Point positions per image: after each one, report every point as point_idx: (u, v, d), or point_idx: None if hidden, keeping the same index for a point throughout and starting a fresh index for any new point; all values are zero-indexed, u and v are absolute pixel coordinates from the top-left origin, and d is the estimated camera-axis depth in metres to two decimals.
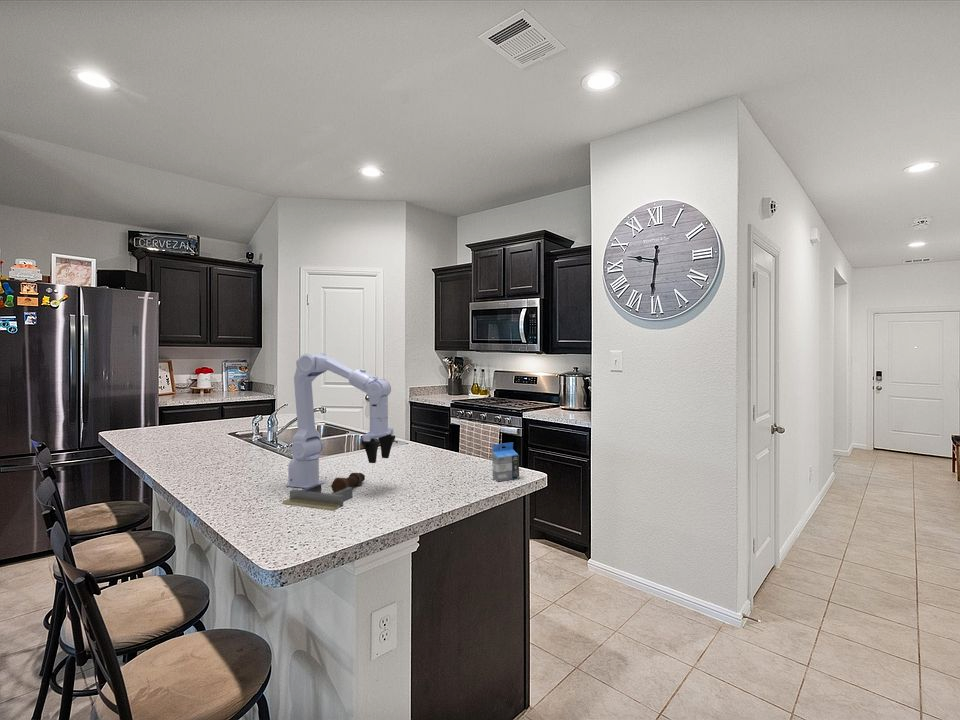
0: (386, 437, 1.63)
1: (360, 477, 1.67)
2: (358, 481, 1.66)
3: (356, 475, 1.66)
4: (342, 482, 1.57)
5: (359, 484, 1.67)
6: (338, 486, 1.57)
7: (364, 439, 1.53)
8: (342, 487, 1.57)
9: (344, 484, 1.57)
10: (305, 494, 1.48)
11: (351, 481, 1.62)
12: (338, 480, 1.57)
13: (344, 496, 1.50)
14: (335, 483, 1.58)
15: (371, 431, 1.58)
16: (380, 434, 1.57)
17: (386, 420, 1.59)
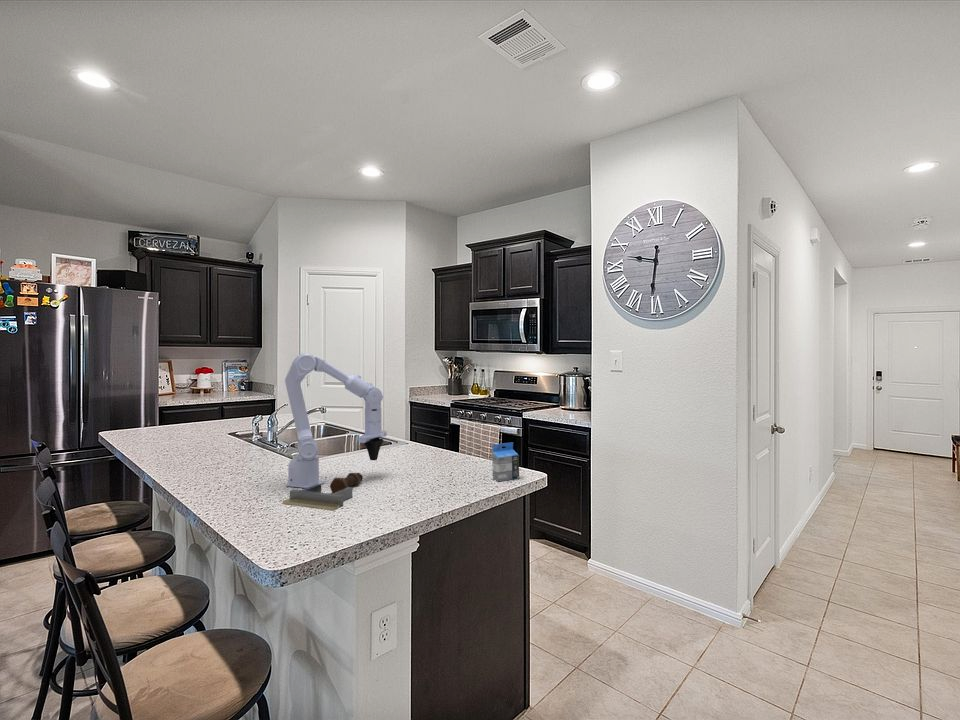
0: None
1: (358, 477, 1.67)
2: (356, 481, 1.66)
3: (354, 475, 1.66)
4: (341, 482, 1.57)
5: (357, 484, 1.67)
6: (337, 486, 1.57)
7: (360, 441, 1.70)
8: (341, 487, 1.57)
9: (343, 484, 1.57)
10: (305, 494, 1.48)
11: (350, 481, 1.62)
12: (337, 480, 1.57)
13: (344, 496, 1.50)
14: (334, 483, 1.57)
15: (366, 433, 1.74)
16: (374, 436, 1.73)
17: (380, 423, 1.76)
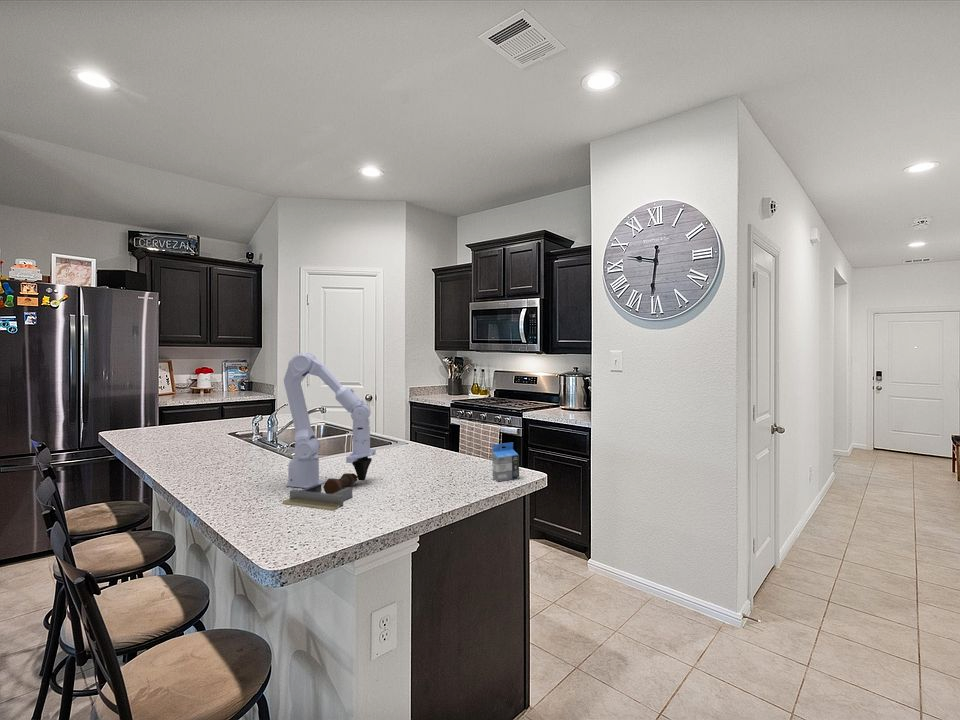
0: None
1: (352, 478, 1.65)
2: (350, 482, 1.64)
3: (348, 476, 1.65)
4: (334, 483, 1.55)
5: (351, 485, 1.65)
6: (330, 487, 1.56)
7: (347, 461, 1.63)
8: (335, 488, 1.55)
9: (336, 485, 1.55)
10: (305, 494, 1.48)
11: (343, 482, 1.61)
12: (330, 481, 1.56)
13: (344, 496, 1.50)
14: (327, 484, 1.56)
15: (354, 453, 1.68)
16: (362, 456, 1.67)
17: (368, 442, 1.69)
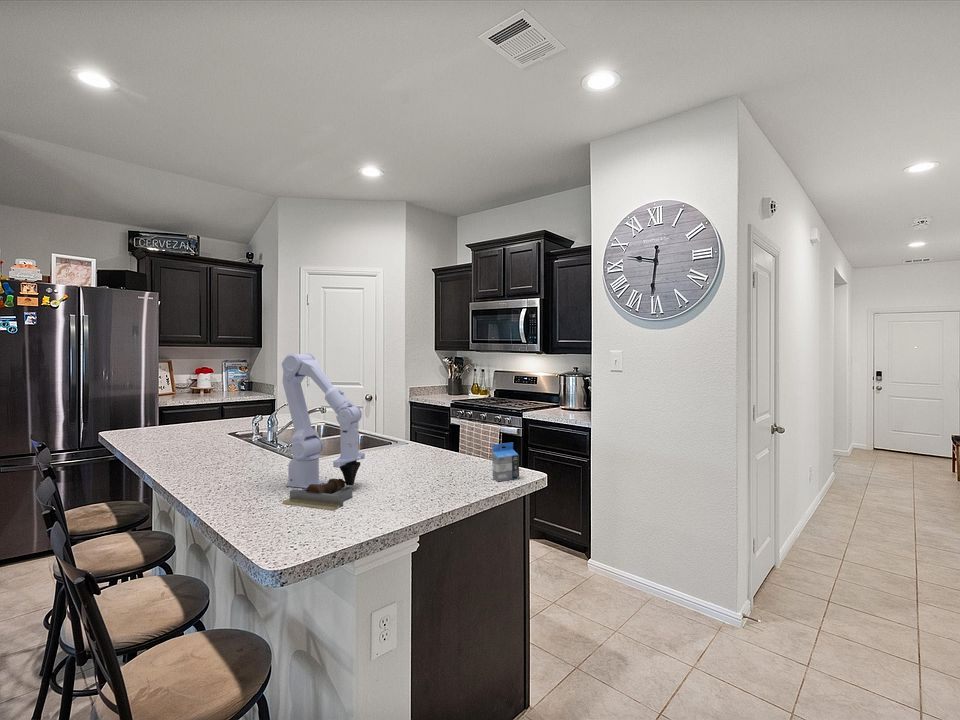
0: None
1: (339, 483, 1.59)
2: (336, 488, 1.58)
3: (334, 481, 1.59)
4: (316, 489, 1.49)
5: None
6: None
7: (334, 465, 1.57)
8: None
9: (318, 491, 1.49)
10: (305, 494, 1.48)
11: (327, 488, 1.54)
12: (312, 487, 1.50)
13: (344, 496, 1.50)
14: (309, 490, 1.50)
15: (342, 457, 1.61)
16: (350, 460, 1.60)
17: (356, 446, 1.63)
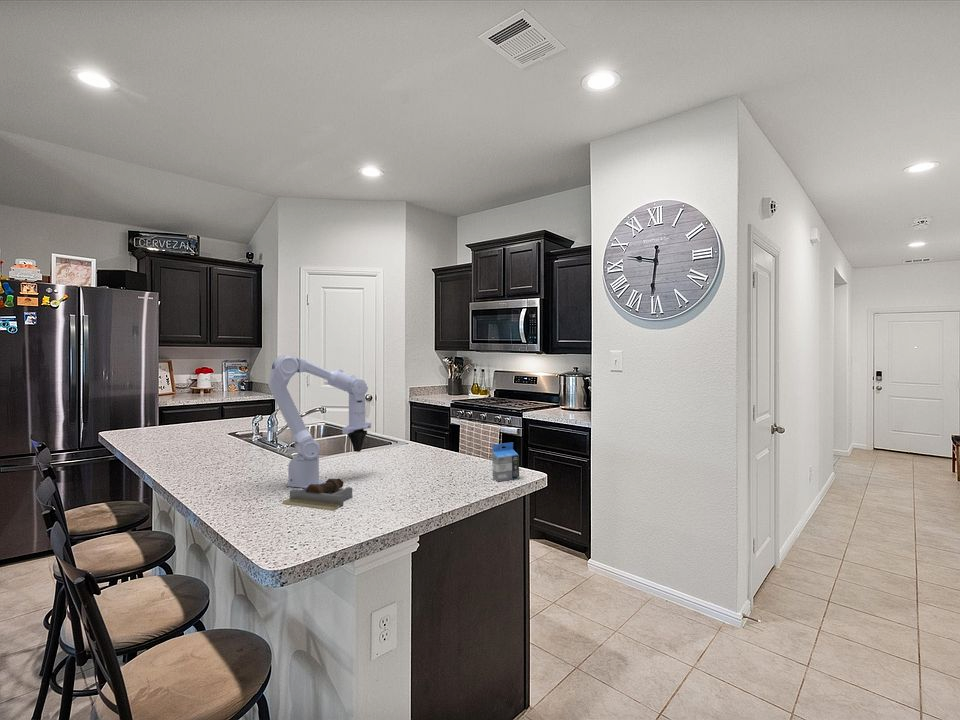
0: None
1: (337, 483, 1.59)
2: (335, 487, 1.58)
3: (333, 481, 1.59)
4: (316, 489, 1.49)
5: (336, 491, 1.59)
6: None
7: (343, 432, 1.71)
8: None
9: (318, 491, 1.49)
10: (305, 494, 1.48)
11: (327, 488, 1.54)
12: (312, 487, 1.50)
13: (344, 496, 1.50)
14: (309, 490, 1.50)
15: (350, 425, 1.75)
16: (358, 427, 1.74)
17: (363, 415, 1.76)
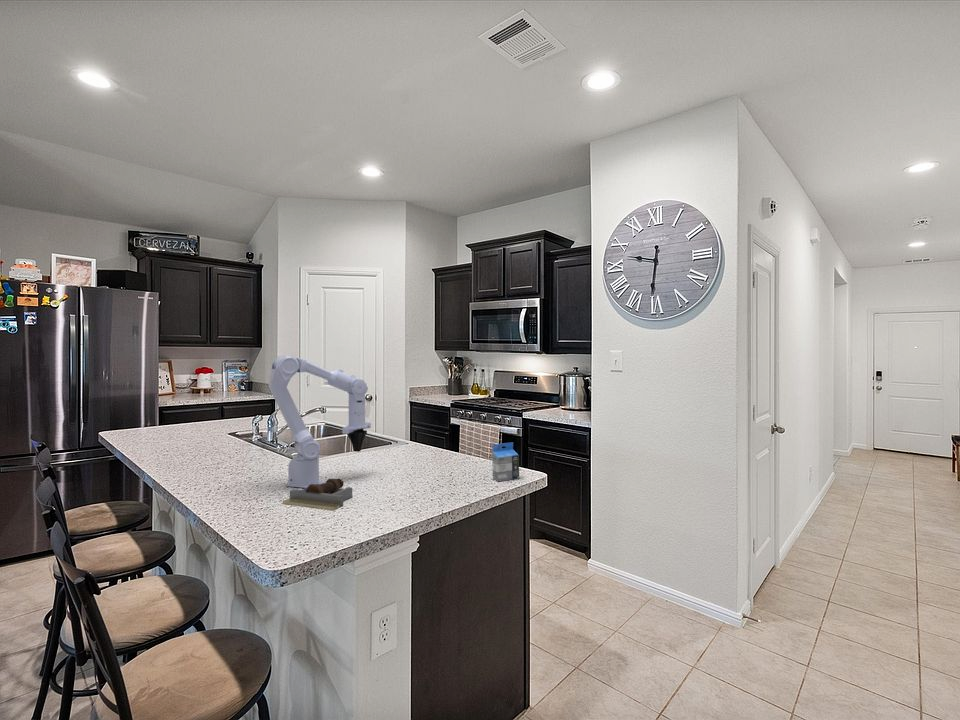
0: None
1: (337, 483, 1.59)
2: (335, 487, 1.58)
3: (333, 481, 1.59)
4: (316, 489, 1.49)
5: (336, 491, 1.59)
6: None
7: (343, 432, 1.71)
8: None
9: (318, 491, 1.49)
10: (305, 494, 1.48)
11: (327, 488, 1.54)
12: (312, 487, 1.50)
13: (344, 496, 1.50)
14: (309, 490, 1.50)
15: (350, 425, 1.76)
16: (358, 427, 1.74)
17: (363, 415, 1.77)
